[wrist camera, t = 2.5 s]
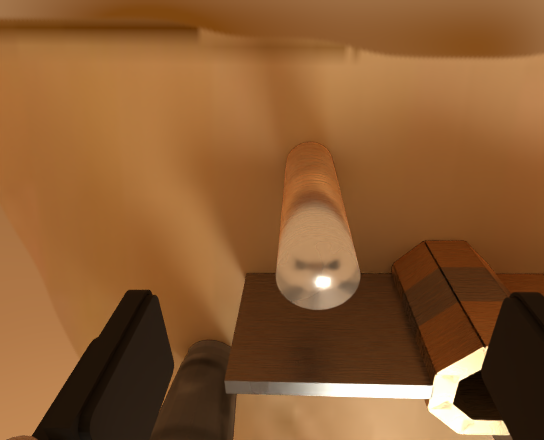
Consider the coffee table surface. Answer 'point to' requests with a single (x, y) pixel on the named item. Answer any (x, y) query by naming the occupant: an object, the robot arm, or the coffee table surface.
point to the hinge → (383, 336)
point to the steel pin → (314, 233)
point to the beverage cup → (198, 397)
